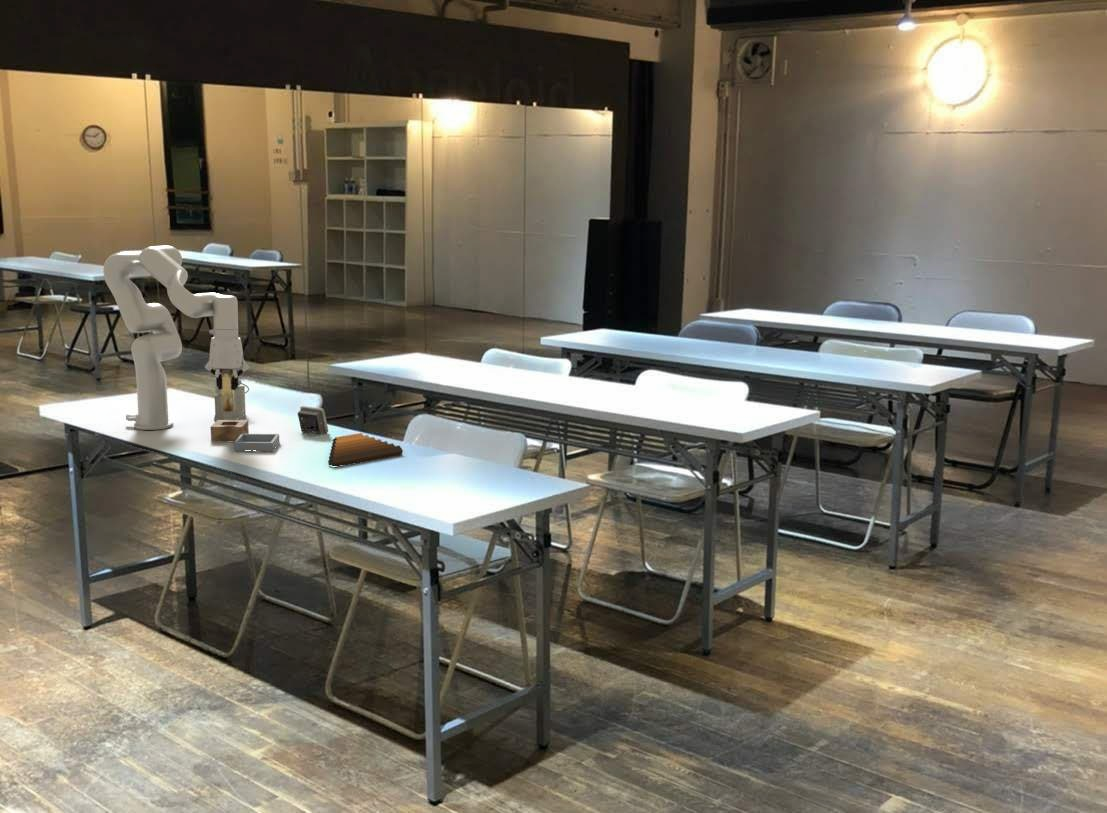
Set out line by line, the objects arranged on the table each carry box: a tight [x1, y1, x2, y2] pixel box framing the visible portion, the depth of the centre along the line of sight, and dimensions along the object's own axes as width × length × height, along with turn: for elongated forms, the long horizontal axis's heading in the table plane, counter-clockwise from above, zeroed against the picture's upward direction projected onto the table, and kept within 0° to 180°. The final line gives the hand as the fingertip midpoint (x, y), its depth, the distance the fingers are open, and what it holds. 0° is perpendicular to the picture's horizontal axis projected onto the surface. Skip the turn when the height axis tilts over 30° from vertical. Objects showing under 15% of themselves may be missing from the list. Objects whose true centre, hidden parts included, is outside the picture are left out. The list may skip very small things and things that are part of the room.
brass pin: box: [221, 369, 234, 412], centre depth 339 cm, size 4×4×14 cm
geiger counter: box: [213, 378, 250, 423], centre depth 363 cm, size 14×6×25 cm
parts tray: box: [233, 433, 280, 452], centre depth 331 cm, size 12×12×3 cm
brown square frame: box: [210, 419, 250, 442], centre depth 341 cm, size 10×10×5 cm
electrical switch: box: [297, 405, 329, 436], centre depth 351 cm, size 9×5×9 cm, turn 67°
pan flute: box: [327, 432, 404, 467], centre depth 327 cm, size 25×3×25 cm
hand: (227, 388), depth 338 cm, fingers closed on brass pin, 4 cm apart
